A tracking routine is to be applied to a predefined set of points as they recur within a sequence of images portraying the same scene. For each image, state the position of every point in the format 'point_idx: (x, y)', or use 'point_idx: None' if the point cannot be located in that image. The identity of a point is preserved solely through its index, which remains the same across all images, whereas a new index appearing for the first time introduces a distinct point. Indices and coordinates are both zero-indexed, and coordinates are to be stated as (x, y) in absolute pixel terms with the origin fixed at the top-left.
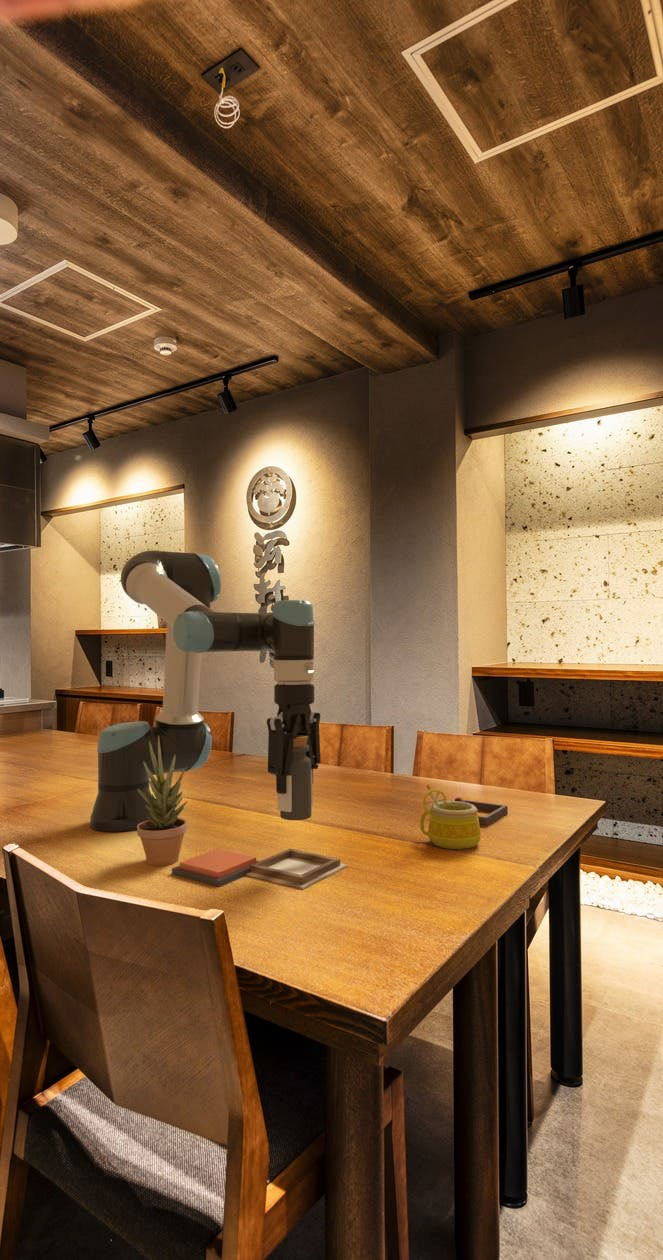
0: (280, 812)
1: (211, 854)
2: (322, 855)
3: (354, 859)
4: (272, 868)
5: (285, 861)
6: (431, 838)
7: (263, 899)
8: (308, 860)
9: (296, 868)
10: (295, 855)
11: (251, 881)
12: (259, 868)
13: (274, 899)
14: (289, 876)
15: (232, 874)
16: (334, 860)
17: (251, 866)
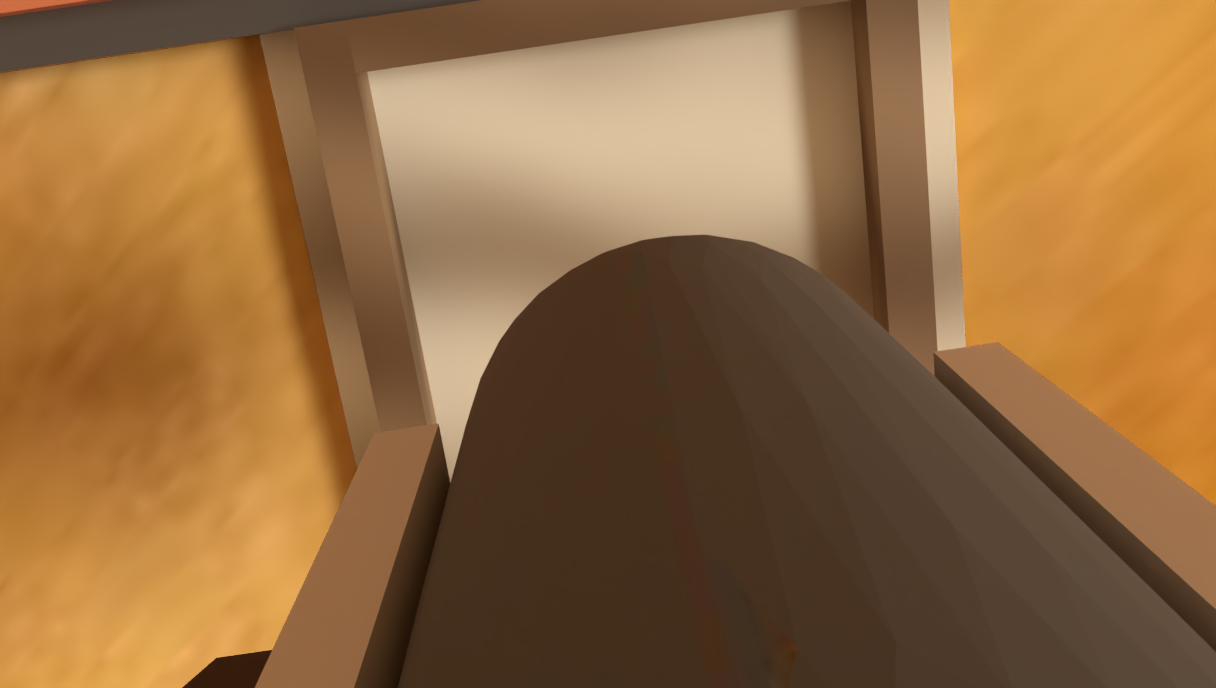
0: (499, 348)
1: None
2: (933, 332)
3: (1150, 436)
4: (388, 254)
5: (718, 63)
6: None
7: (59, 527)
8: (866, 206)
9: None
10: (860, 57)
11: (208, 185)
12: (320, 148)
13: (119, 579)
14: None
15: (79, 40)
16: None
17: (299, 49)
